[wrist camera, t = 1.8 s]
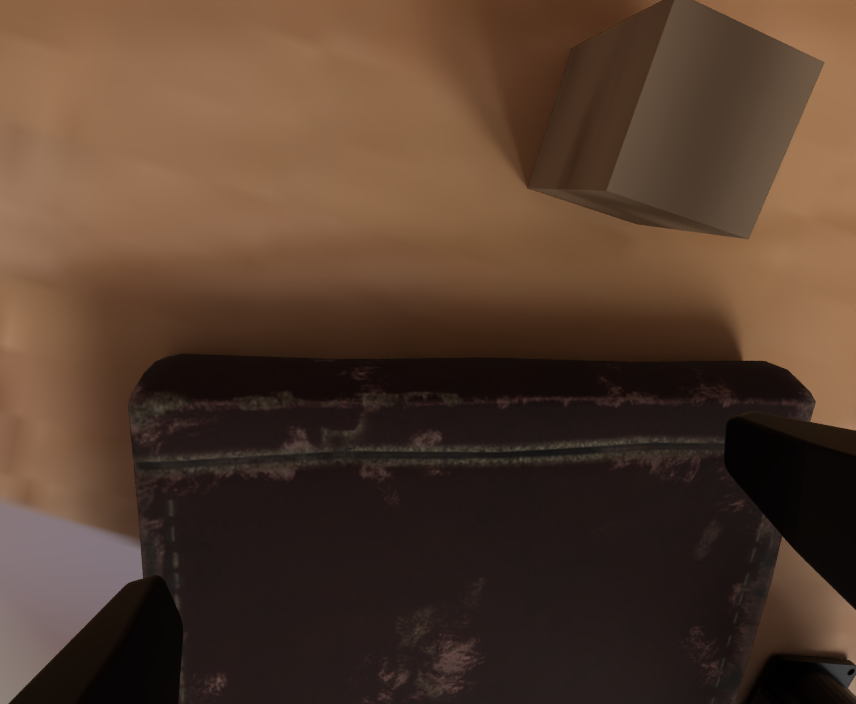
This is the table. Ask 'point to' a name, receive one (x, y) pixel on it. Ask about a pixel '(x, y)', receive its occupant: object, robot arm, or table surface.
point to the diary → (455, 527)
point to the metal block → (675, 120)
